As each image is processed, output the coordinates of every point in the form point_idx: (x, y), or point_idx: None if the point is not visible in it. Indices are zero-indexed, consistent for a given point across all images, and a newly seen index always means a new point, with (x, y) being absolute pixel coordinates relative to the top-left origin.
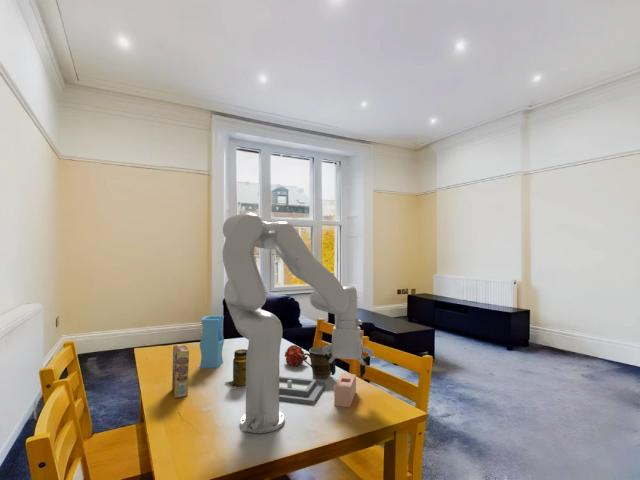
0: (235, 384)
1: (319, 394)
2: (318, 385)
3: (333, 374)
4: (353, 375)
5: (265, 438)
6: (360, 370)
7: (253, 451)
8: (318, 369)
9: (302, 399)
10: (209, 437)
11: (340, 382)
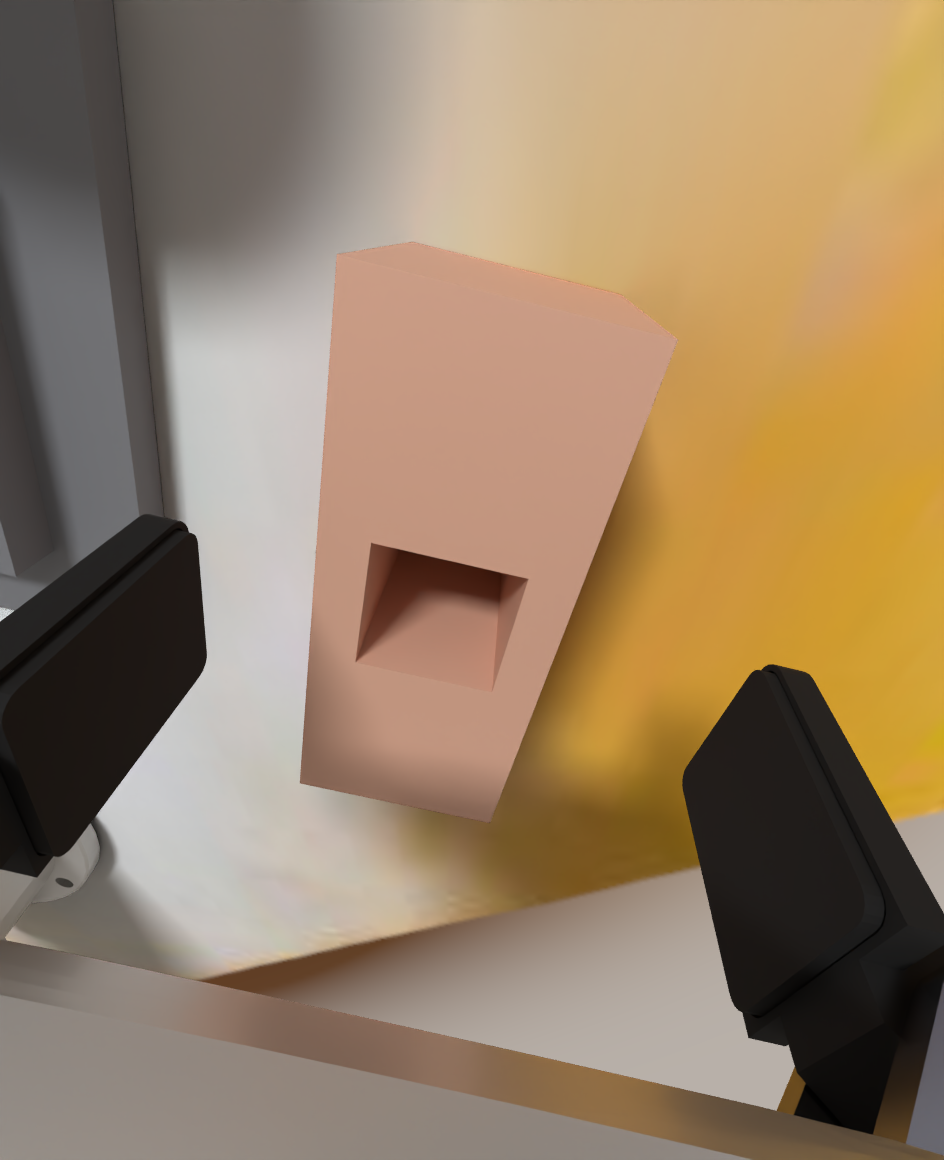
0: None
1: (148, 427)
2: (17, 185)
3: (196, 671)
4: (607, 397)
5: (85, 902)
6: (713, 901)
7: (93, 951)
8: None
9: None
10: None
11: (361, 692)
